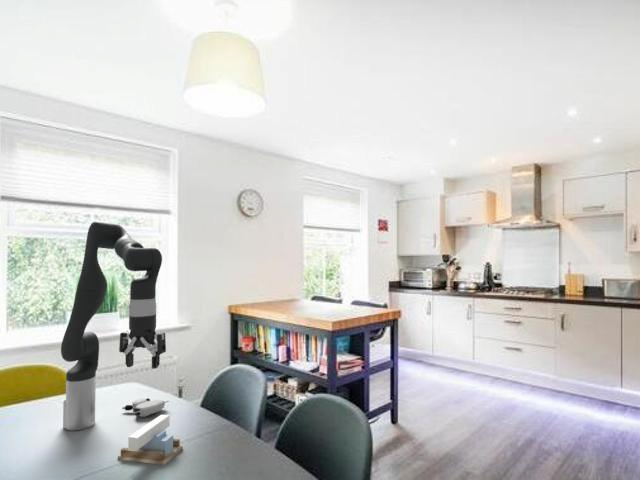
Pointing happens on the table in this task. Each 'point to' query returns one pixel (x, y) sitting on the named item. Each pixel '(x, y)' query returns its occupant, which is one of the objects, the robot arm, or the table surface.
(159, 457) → the jig
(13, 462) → the table surface
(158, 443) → the light blue stepped block
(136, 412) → the robot toy
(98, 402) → the table surface
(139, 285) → the robot arm
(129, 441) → the white rectangular bar
